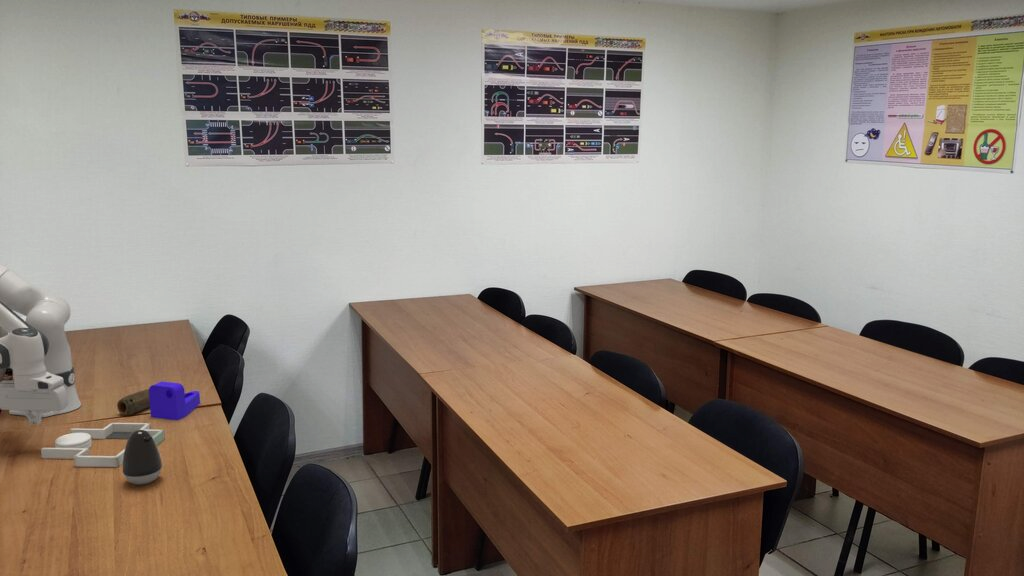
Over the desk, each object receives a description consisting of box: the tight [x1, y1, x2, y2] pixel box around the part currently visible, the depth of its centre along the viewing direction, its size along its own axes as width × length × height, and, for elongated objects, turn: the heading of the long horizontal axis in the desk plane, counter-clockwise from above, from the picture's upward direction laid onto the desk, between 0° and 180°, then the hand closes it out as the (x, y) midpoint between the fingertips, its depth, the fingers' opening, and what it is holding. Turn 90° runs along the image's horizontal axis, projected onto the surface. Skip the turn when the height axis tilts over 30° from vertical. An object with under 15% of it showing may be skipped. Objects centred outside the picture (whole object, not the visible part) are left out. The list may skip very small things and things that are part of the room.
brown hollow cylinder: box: [116, 388, 150, 416], centre depth 286 cm, size 15×7×7 cm, turn 163°
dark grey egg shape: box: [121, 430, 163, 485], centre depth 228 cm, size 10×10×15 cm
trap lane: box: [40, 422, 166, 468], centre depth 252 cm, size 30×28×3 cm
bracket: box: [148, 381, 201, 421], centre depth 286 cm, size 18×11×12 cm, turn 164°
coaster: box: [54, 432, 93, 449], centre depth 253 cm, size 10×10×4 cm
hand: (35, 423), depth 251 cm, fingers closed
